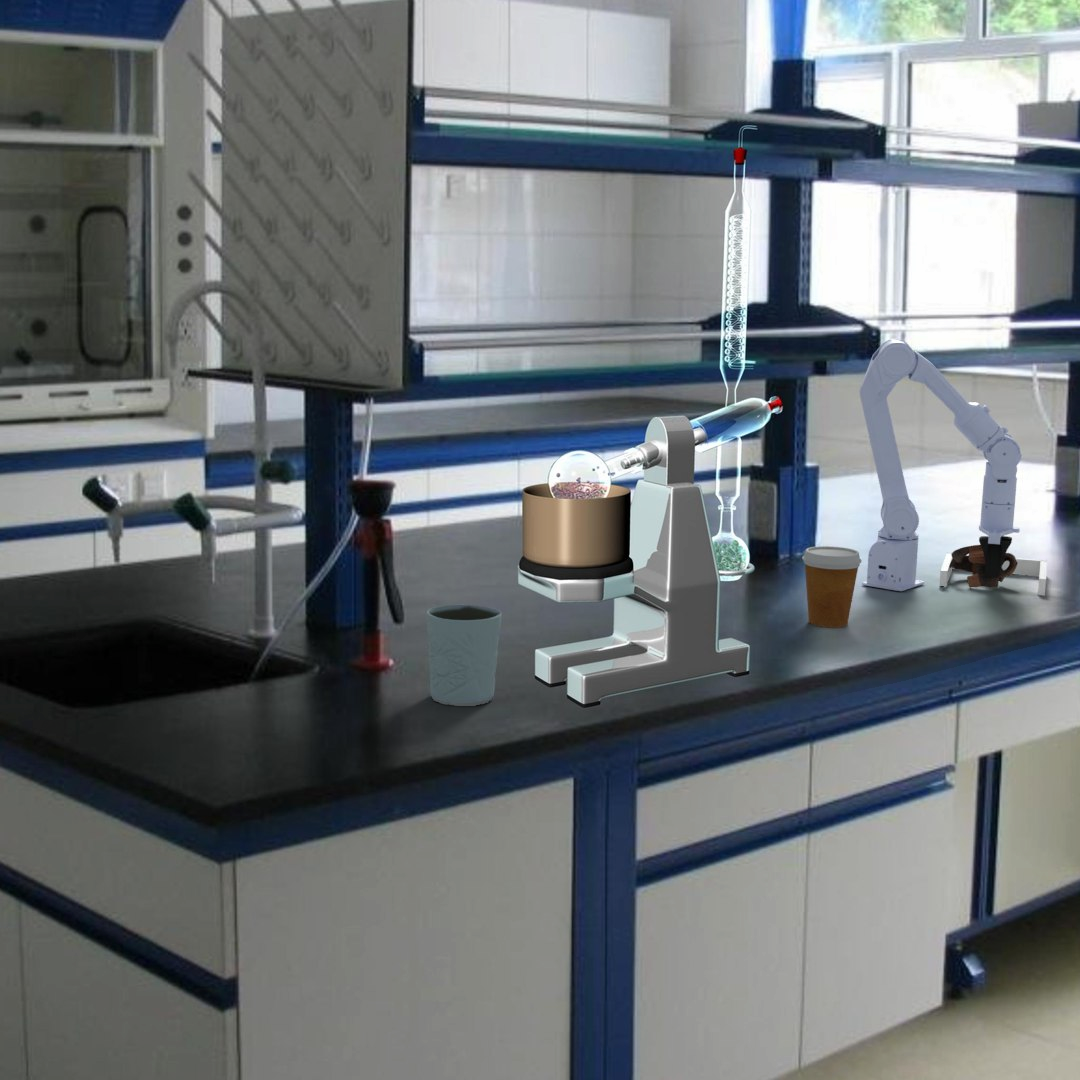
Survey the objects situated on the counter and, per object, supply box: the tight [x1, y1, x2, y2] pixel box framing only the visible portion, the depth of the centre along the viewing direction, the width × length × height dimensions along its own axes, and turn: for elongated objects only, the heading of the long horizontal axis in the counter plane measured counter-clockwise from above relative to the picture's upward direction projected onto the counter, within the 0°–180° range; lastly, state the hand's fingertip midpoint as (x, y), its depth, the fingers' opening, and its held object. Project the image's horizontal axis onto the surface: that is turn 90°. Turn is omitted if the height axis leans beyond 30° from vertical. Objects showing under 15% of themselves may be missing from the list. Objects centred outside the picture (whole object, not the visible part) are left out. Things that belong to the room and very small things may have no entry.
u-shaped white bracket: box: [939, 552, 1048, 596], centre depth 328 cm, size 18×18×3 cm
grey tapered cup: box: [425, 604, 503, 703], centre depth 241 cm, size 10×10×12 cm
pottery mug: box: [949, 544, 1018, 588], centre depth 326 cm, size 12×10×8 cm
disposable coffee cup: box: [801, 545, 863, 628], centre depth 290 cm, size 10×10×12 cm
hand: (992, 576), depth 320 cm, fingers closed
